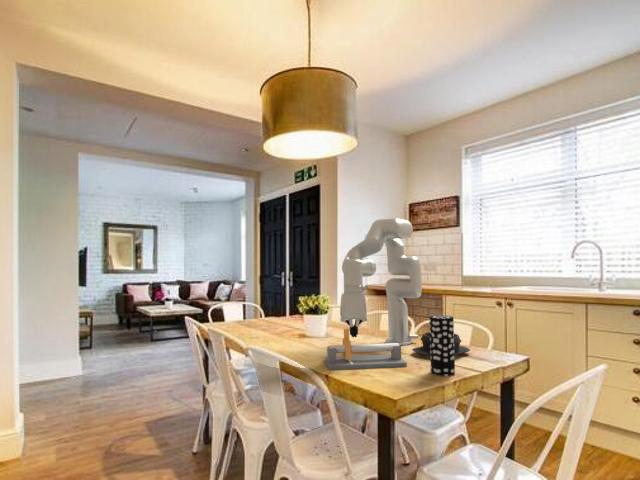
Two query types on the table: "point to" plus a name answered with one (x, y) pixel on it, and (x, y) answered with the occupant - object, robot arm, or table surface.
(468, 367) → the table surface
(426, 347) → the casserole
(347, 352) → the collar
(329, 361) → the pipe rig
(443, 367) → the white-spotted black cylinder
